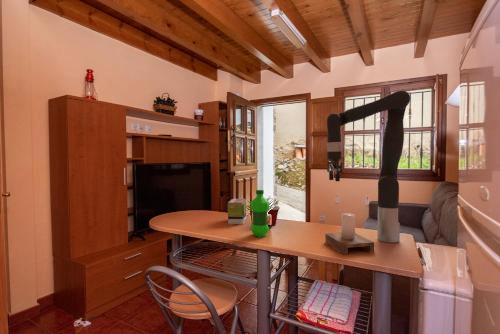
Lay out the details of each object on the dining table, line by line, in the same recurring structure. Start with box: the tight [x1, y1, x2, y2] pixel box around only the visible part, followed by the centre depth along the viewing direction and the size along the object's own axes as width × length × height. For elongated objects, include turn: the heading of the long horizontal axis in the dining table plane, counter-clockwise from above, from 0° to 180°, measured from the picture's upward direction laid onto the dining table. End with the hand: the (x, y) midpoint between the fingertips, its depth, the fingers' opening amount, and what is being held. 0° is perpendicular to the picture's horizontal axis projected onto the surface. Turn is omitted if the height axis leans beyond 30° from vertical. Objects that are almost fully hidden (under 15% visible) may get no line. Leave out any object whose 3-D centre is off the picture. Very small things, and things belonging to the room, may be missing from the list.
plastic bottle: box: [249, 189, 270, 238], centre depth 143 cm, size 10×10×25 cm
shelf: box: [324, 232, 375, 256], centre depth 123 cm, size 15×17×4 cm
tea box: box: [227, 198, 247, 226], centre depth 174 cm, size 15×10×15 cm
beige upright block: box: [340, 212, 356, 240], centre depth 123 cm, size 6×6×11 cm
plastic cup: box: [268, 205, 280, 227], centre depth 165 cm, size 11×11×12 cm
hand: (334, 180), depth 142 cm, fingers open, 8 cm apart
